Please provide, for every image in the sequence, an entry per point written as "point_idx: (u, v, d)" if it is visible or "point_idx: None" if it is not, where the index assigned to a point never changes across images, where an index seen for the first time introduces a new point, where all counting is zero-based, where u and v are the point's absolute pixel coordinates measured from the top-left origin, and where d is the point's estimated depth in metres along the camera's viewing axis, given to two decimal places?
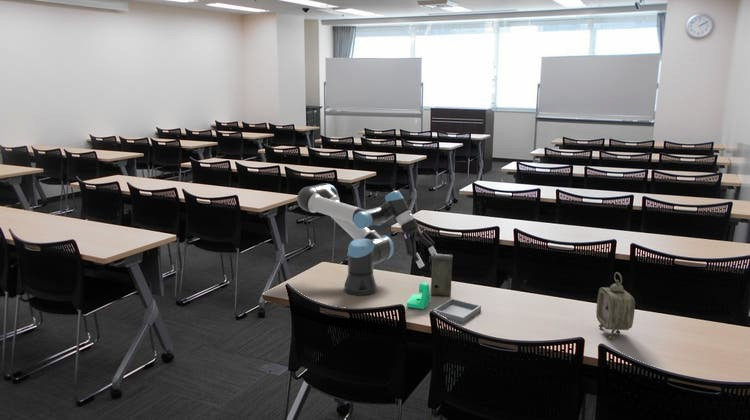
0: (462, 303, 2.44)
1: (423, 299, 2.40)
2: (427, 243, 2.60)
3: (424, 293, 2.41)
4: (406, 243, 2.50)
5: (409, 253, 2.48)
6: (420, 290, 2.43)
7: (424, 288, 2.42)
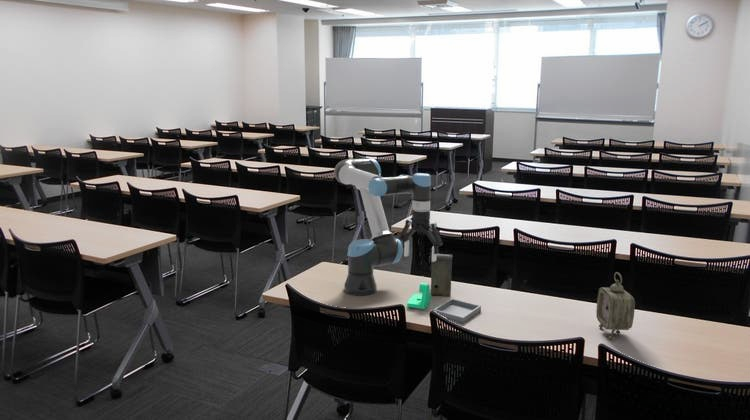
0: (462, 303, 2.44)
1: (423, 299, 2.40)
2: None
3: (424, 293, 2.41)
4: None
5: None
6: (420, 290, 2.42)
7: (424, 288, 2.42)
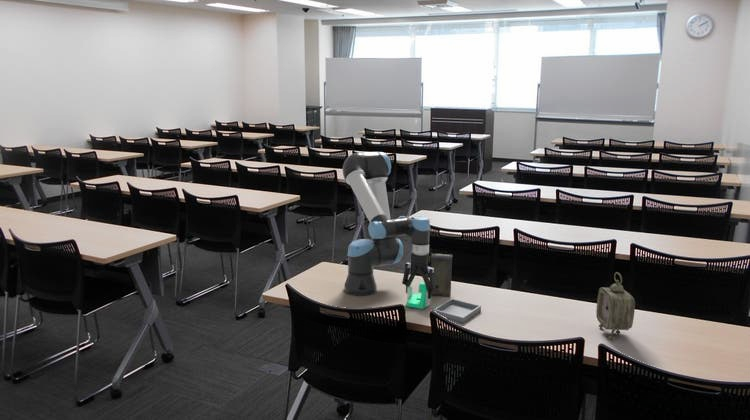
0: (462, 303, 2.44)
1: (422, 299, 2.40)
2: None
3: (424, 293, 2.41)
4: None
5: None
6: (420, 290, 2.42)
7: (424, 288, 2.42)
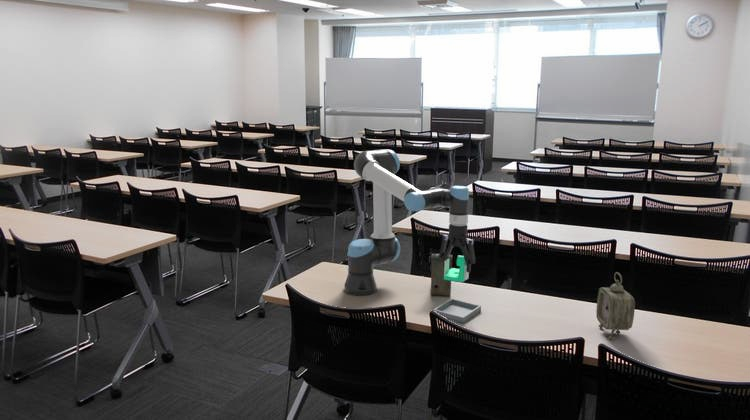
0: (462, 303, 2.44)
1: (461, 272, 2.29)
2: None
3: (462, 266, 2.29)
4: None
5: None
6: (458, 263, 2.31)
7: (462, 260, 2.30)
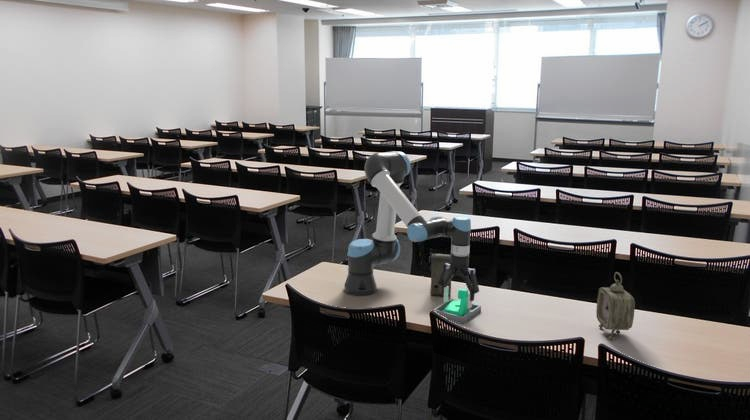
0: None
1: (462, 306, 2.31)
2: None
3: (463, 299, 2.32)
4: None
5: None
6: (459, 296, 2.34)
7: (463, 294, 2.33)
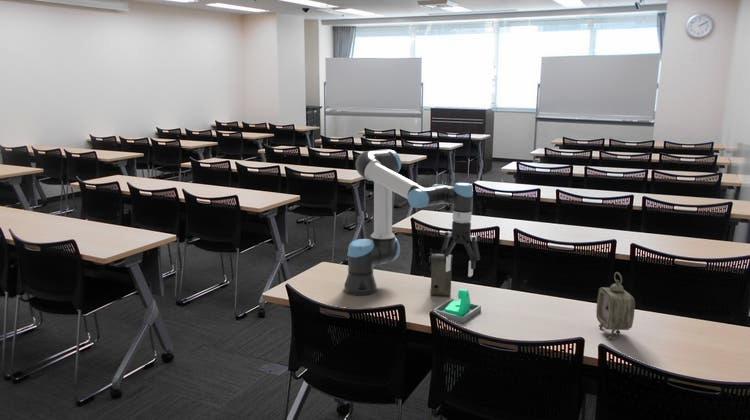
0: None
1: (462, 306, 2.31)
2: None
3: (463, 299, 2.32)
4: None
5: None
6: (459, 296, 2.34)
7: (463, 294, 2.33)
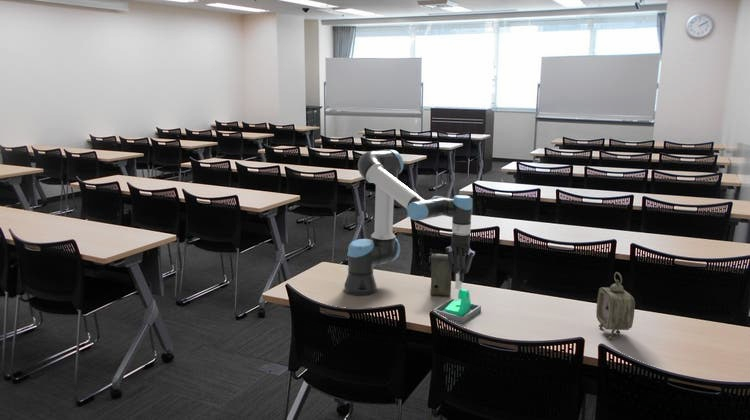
0: None
1: (462, 306, 2.31)
2: None
3: (463, 300, 2.32)
4: None
5: None
6: (459, 296, 2.34)
7: (464, 294, 2.33)
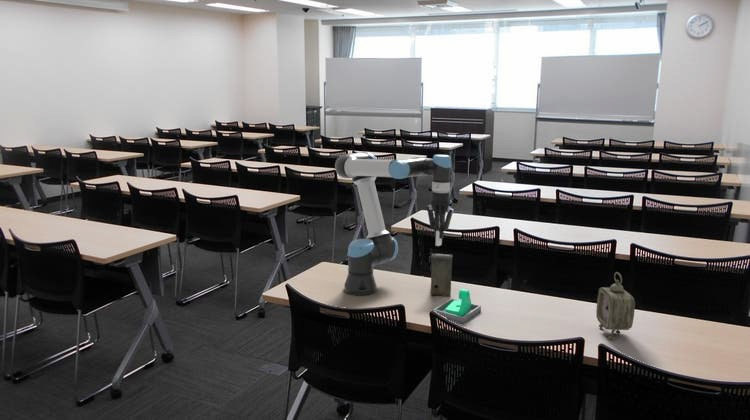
0: None
1: (462, 306, 2.31)
2: None
3: (464, 300, 2.32)
4: None
5: None
6: (460, 296, 2.34)
7: (464, 294, 2.33)
